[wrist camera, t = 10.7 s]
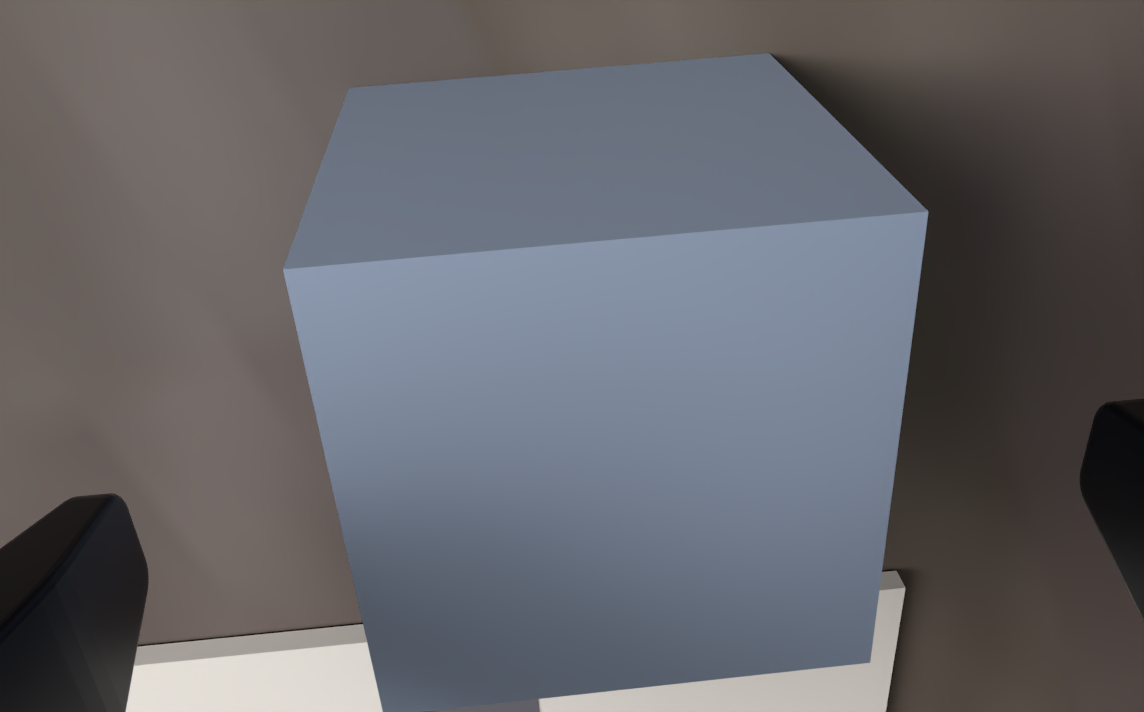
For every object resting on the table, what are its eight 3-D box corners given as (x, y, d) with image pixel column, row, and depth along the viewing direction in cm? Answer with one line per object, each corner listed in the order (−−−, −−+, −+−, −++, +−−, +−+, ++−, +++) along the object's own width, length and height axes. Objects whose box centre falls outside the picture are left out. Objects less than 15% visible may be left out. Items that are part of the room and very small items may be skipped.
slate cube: (767, 52, 12) (928, 212, 8) (753, 399, 15) (869, 662, 11) (349, 86, 12) (281, 268, 8) (409, 432, 15) (383, 716, 10)
